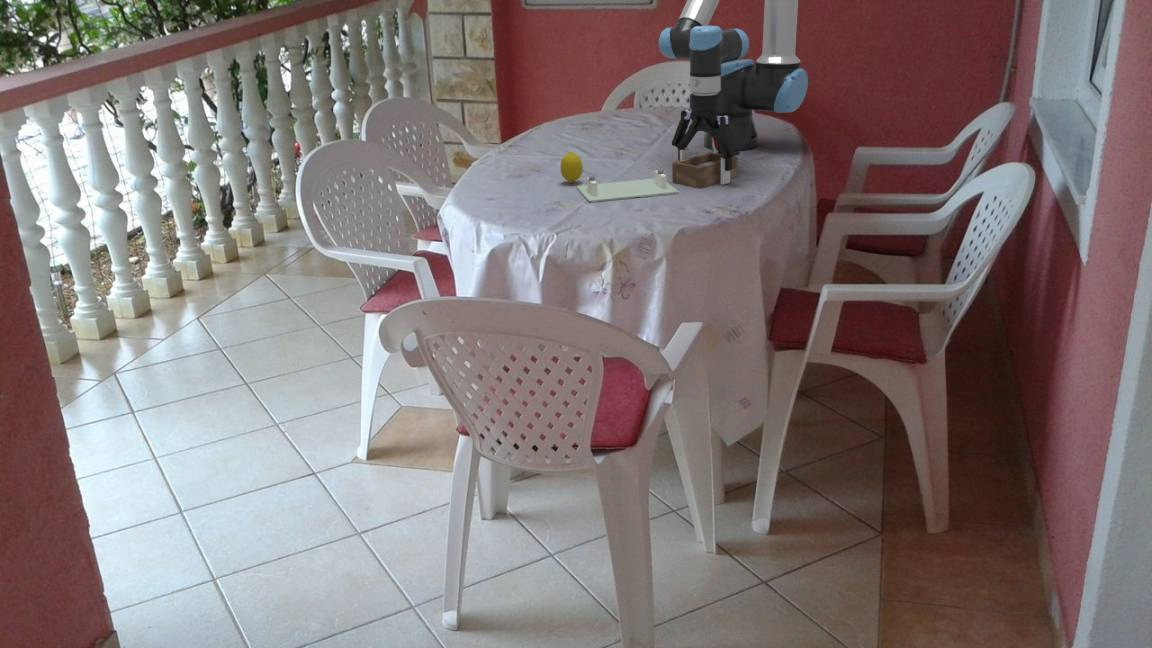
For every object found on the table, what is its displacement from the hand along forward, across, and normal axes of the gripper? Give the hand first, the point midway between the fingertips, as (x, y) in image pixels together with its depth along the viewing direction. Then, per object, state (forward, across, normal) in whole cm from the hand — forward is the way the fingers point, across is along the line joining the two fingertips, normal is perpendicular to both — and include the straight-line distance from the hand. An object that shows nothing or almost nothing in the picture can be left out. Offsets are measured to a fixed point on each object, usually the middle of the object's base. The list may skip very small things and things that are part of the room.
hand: (704, 179), depth 257 cm
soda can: (0, -5, +12) cm, 13 cm away
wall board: (0, -8, -20) cm, 21 cm away
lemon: (+1, -24, -23) cm, 33 cm away
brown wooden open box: (0, 0, 0) cm, 0 cm away
